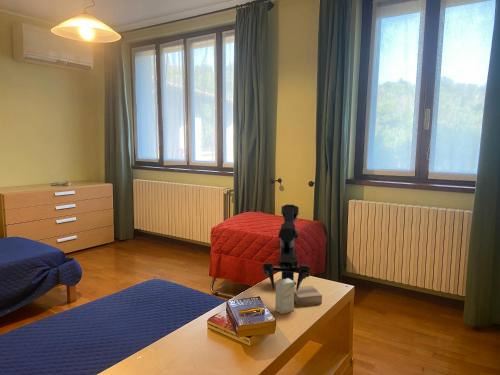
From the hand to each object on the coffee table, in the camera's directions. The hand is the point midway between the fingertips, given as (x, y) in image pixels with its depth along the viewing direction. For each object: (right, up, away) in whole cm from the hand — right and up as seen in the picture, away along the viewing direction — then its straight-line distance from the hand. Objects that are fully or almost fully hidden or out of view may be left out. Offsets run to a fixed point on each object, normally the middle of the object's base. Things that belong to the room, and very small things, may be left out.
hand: (285, 289), depth 149 cm
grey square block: (+10, -7, +10) cm, 16 cm away
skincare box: (0, -8, +1) cm, 8 cm away
